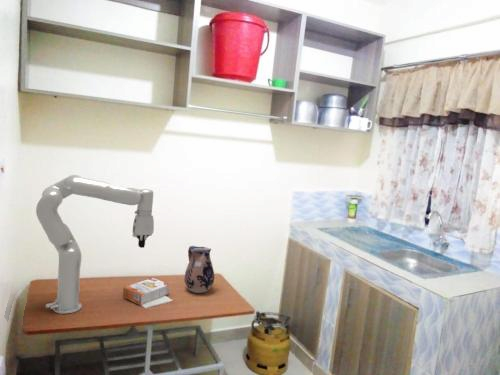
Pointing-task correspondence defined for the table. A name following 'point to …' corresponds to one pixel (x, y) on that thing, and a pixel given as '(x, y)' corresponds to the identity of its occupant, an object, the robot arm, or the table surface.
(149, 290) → the cracker box
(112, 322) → the table surface
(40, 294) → the table surface
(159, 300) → the mat
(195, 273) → the ceramic pitcher
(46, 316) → the table surface
